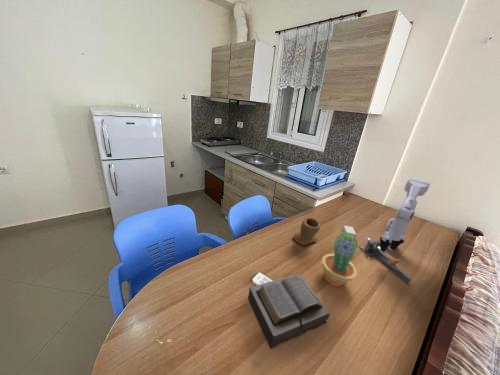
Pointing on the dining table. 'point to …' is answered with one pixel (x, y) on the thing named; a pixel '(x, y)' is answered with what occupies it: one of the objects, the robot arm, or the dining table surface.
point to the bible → (286, 308)
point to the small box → (348, 230)
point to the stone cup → (307, 231)
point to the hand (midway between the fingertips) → (387, 249)
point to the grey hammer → (384, 259)
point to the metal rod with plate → (385, 254)
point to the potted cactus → (341, 260)
